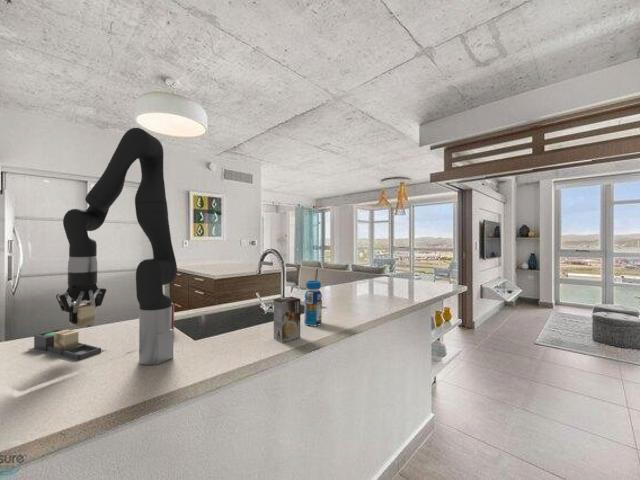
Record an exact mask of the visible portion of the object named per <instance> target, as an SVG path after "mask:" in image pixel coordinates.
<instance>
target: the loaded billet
mask: <svg viewBox="0 0 640 480" xmlns="http://www.w3.org/2000/svg"><path fill="white" fill-rule="evenodd" d="M62 330H63V331H59V332H55V333H54V348H58V349H61V350H65V349H68V348H72V347H75V346H78V342H79V331H76V330H73V329H62Z"/></svg>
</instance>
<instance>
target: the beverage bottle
mask: <svg viewBox="0 0 640 480" xmlns="http://www.w3.org/2000/svg"><path fill="white" fill-rule="evenodd" d="M321 284H322V283H321V281H319V280H307V281H306V285H305V286H306V289H307V290H306V291H305V293H304V300H303V301H304V302H303V304H304V319H303V323H304V325H305V324H306V326H308V325H310V326H309V327H314V326H313V325H318V326H320V325H322V316H323V315H322V312H323V311H322V308H323V300H322V298H323V294H322V292H321V291H320V289H321V286H322V285H321ZM319 324H320V325H319Z"/></svg>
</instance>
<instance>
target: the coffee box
mask: <svg viewBox="0 0 640 480" xmlns="http://www.w3.org/2000/svg"><path fill="white" fill-rule="evenodd" d="M296 338H297V339H301V298H299V297H295V296H286V297H281V298H274V299H273V340H275V339H276V341H277V340H278V342H279V341H280V343H281V342H283V343H286V341H287V342H289V341H293V339H294V340H297V339H296Z"/></svg>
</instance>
